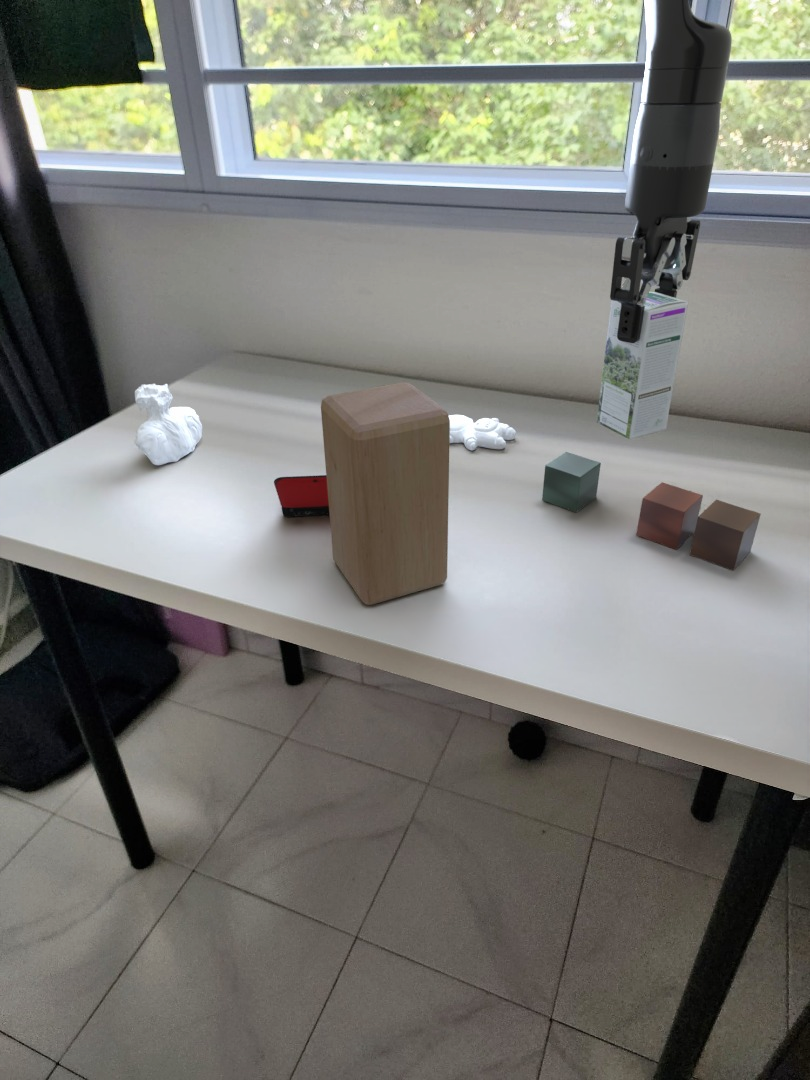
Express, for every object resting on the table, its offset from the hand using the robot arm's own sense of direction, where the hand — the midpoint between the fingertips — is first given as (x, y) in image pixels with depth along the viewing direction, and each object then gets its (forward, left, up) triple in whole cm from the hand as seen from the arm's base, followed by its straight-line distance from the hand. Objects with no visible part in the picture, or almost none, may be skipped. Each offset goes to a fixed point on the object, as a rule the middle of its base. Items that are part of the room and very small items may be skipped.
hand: (644, 332), depth 79 cm
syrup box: (0, 0, -11) cm, 11 cm away
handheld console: (+28, +21, -23) cm, 42 cm away
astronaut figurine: (+27, -7, -23) cm, 36 cm away
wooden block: (+13, +27, -23) cm, 38 cm away
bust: (+58, +25, -23) cm, 67 cm away
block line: (-3, 0, -23) cm, 23 cm away
